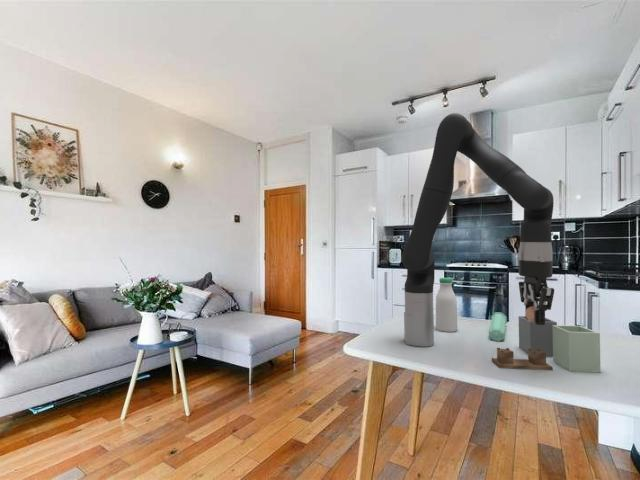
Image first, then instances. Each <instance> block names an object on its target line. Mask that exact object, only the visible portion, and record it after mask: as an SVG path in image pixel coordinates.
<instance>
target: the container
mask: <svg viewBox="0 0 640 480" xmlns="http://www.w3.org/2000/svg"><path fill="white" fill-rule="evenodd" d="M490 319H491V320H490V321H491V322H490V325H489V330H488V337H489V338H490V339H491V340H492V341H495V342H501V341H503V340H504V339H505V338H506V337H505V335H506V324H507V323H508V317H507V316H506V315H505V314H504V313H503V312H500V311H499V312H494V313H493V314H492V315H491V316H490Z"/></svg>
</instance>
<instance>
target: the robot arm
mask: <svg viewBox="0 0 640 480" xmlns="http://www.w3.org/2000/svg"><path fill="white" fill-rule="evenodd" d="M434 140H435V141H434V147H433V153H432V157H431V160H430V163H429V167H428V170H427V174H426V177H425V181H424V184H423V187H422V190H421V193H420V197H419V200H418V205H417V209H416V212H415V215H414V220H413V221H414V222H413V225H412V228H411V232H410V233H409V237H408V239H407V240H406V241H407V242H406V243H405V246H404V248H403V252H402V254H401V261H402V265H403V266H404V268H405V269H406V271H407V272H406V280H405V282H404V312H403V319H404V320H403V321H404V322H403V324H404V325H403V326H404V327H403V328H404V329H403V330H404V331H403V332H404V334H403V335H404V341H405V343H406V345H409V346H414V347H425V348H426V347H427V348H428V347H431V346H434V344H435V327H434V326H435V324H434V321H435V319H434V285H435V266H436V265H435V255H434V252H433V250H432V245H433V241H434V237H435V235H436V231H437V230H438V228H439V226H440V224H441V223H442V220H443V219H444V217H445V215H446V212H447V211H448V208H449V206H450V201H451V198H452V195H453V192H454V191H453V190H454V184H455V161H456V156H457V154H458V152H459V153H460V154H462V155H464V156H465V157H467V158H468V159H469V160H470V161H472V162H473V163H475V164H476V165H477V167H478V168H479V169H480V170H481V171H482V172H483V173H484V174H485V175H486V176H487V177H488V178H489V179H490V180H492V181H493V182H494V183H495V184H496V185H497V186H498V187H500V189H503V191H505V192H506V193H507V194H508V195H509V197H510V198H512V199H513V201H514V202H516V203H517V204H518V205H519V206H520V207H521V208H523V222H522V223H521V224H520V227H519V228H520V230H519V231H520V232H519V248H518V275H519V276H520V277H523V278H524V279H523V281H518V288H519V296H520V302H521V303H523V305H524V307H525V310H524V312H526V309H527V308H529V307H531V306H534V307H535V317H534V323H535V324H537V325H544V324H545V318H546V311H549V310H550V311H551V309H552V305H553V300H554V294H555V288H554V287H548V282H547V279H548V278H552V277H553V255H554V254H553V246H552V219H553V212H554V195H553V193H552V191H551V190H550V189H548V188H547V187H545V186H544V185H543V184H541V183H540V182H538V180H535V179H534V178H533V177H531V176H530V175H528V174H527V172H526V171H525V170H524V169H523V168H522V167H521V166H519V165H518V164H517V163H516V162H514V161H513V160H511V159H510V158H509V157H508V156H506V155H505V154H503V153H501V152H500V151H499V150H497V149H495V148H493V147H492V146H491V145H490V144H488V143H487V142H485V141H484V139H482V137H481V136H480V135H479V134H478V133H477V131H476V130H475V129H474V127H473V125H472V123H471V122H470V121H469V120H468V119H467V118H466V117H465V116H464V115H463V114H460V113H458V112H452V113H449V114H447V115H446V116H445V117H444V118H443V119H442V120H441V121H440V123H439V125H438V127H437V130H436V135H435V139H434ZM524 316H525V318H526V315H525V314H524ZM526 319H527V318H526ZM527 320H528V319H527Z"/></svg>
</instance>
